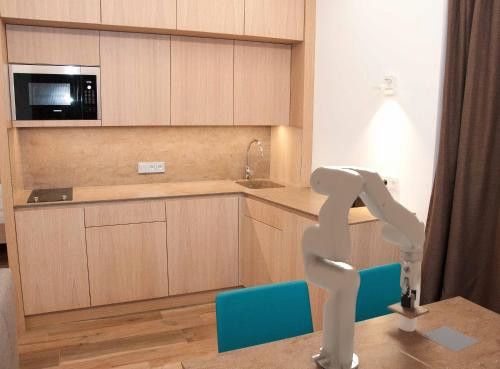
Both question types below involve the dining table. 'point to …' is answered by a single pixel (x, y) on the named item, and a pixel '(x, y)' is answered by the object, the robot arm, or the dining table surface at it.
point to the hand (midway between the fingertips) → (408, 303)
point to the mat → (450, 339)
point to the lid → (408, 309)
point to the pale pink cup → (407, 323)
